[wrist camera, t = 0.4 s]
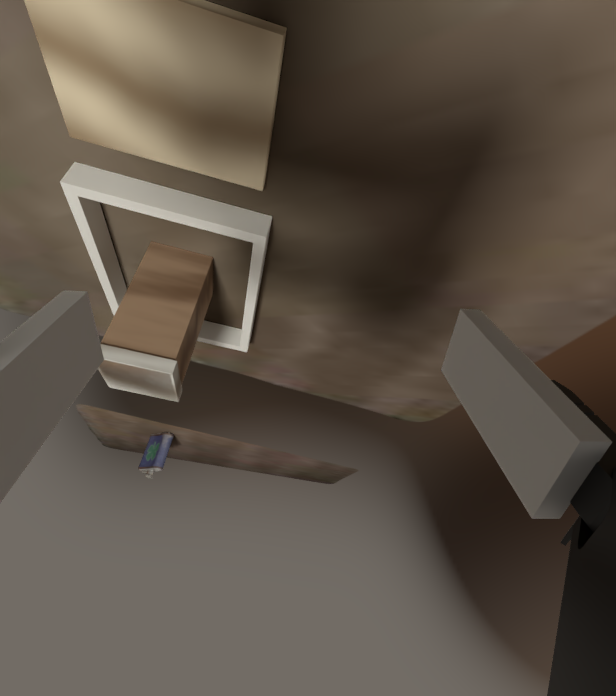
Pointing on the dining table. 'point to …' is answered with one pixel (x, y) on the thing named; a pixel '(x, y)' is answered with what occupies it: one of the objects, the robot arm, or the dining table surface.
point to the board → (166, 80)
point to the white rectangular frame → (144, 197)
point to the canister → (158, 323)
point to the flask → (155, 453)
